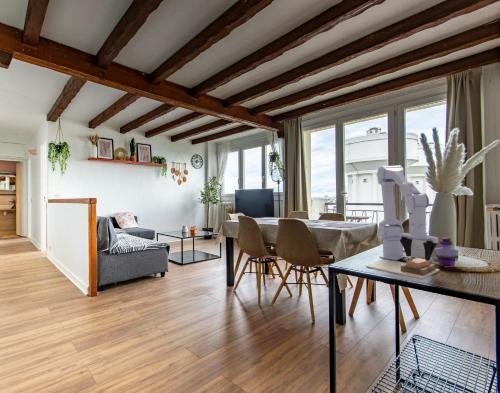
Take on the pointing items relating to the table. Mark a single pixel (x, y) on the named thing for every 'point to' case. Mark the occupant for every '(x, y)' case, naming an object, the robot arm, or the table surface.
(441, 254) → the potion bottle
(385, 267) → the mat
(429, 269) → the tray
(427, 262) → the salmon orange block
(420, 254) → the skincare box
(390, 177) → the robot arm
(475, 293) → the table surface
